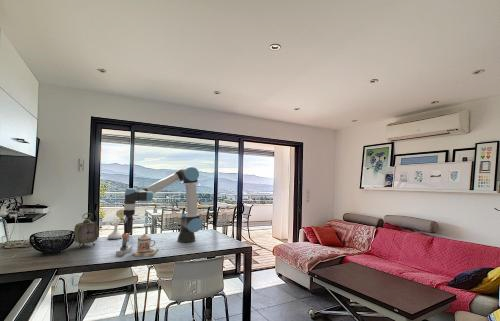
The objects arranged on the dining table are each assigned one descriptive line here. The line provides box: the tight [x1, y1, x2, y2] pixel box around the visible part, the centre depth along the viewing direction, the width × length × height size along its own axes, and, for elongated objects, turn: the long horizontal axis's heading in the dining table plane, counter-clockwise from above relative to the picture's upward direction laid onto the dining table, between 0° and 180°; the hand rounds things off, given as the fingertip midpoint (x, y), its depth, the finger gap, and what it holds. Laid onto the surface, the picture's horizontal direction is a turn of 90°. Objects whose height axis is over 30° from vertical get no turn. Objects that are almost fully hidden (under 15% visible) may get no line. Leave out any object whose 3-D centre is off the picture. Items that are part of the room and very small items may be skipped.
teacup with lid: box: [136, 233, 156, 252], centre depth 188 cm, size 12×9×12 cm
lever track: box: [115, 244, 133, 257], centre depth 187 cm, size 5×16×3 cm, turn 5°
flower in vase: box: [107, 208, 126, 240], centre depth 226 cm, size 13×11×25 cm
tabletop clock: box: [73, 212, 100, 249], centre depth 198 cm, size 14×9×25 cm, turn 147°
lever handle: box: [119, 232, 128, 249], centre depth 186 cm, size 4×4×11 cm
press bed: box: [131, 247, 159, 257], centre depth 188 cm, size 14×14×2 cm
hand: (126, 241), depth 191 cm, fingers closed
